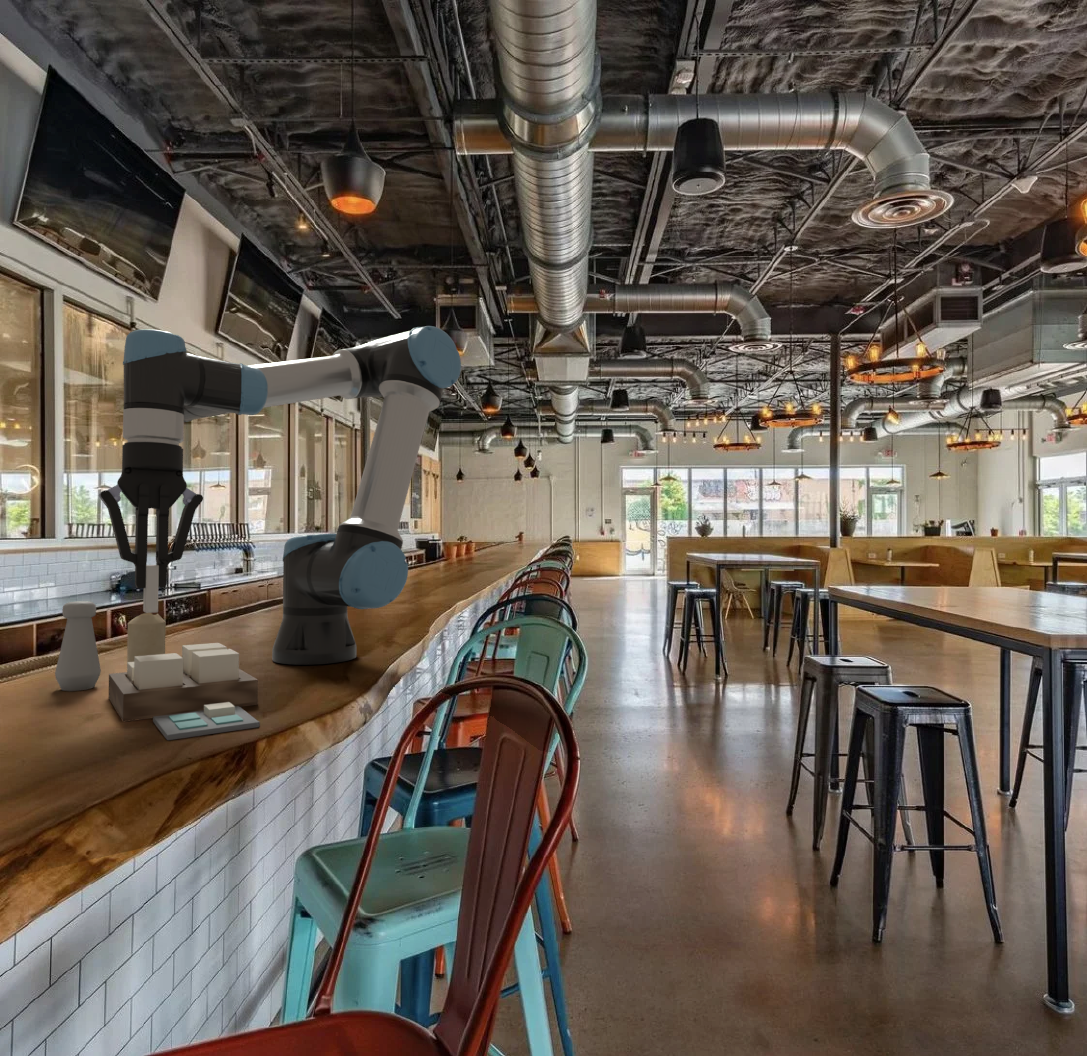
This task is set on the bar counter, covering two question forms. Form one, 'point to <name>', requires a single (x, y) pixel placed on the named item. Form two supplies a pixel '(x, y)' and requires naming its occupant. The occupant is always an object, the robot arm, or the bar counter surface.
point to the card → (205, 721)
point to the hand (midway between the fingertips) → (150, 611)
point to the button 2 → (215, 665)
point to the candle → (145, 636)
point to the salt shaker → (78, 649)
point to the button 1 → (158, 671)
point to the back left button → (189, 649)
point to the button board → (178, 696)
